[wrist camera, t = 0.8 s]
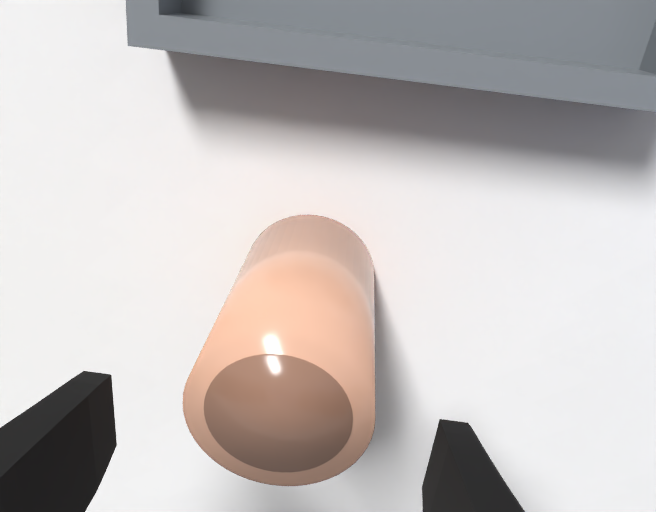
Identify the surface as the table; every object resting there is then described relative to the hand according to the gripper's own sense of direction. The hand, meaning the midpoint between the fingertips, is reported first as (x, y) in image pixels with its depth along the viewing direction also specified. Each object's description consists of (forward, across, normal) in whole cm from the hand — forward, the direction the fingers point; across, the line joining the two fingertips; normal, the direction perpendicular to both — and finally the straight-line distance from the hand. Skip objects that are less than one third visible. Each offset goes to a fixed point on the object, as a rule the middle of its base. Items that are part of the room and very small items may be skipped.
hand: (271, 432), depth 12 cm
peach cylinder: (+8, 0, 0) cm, 8 cm away
